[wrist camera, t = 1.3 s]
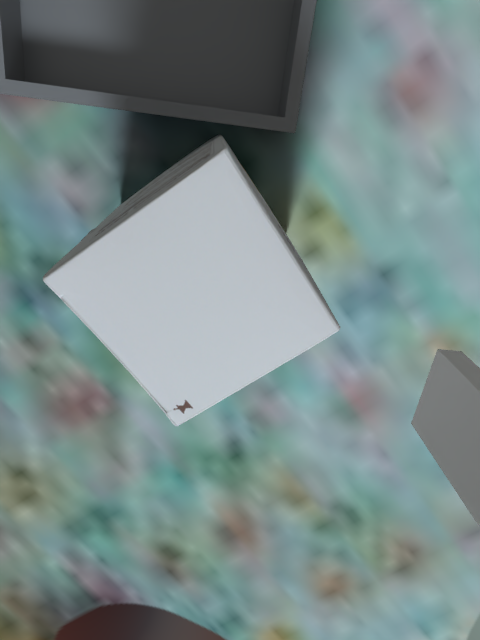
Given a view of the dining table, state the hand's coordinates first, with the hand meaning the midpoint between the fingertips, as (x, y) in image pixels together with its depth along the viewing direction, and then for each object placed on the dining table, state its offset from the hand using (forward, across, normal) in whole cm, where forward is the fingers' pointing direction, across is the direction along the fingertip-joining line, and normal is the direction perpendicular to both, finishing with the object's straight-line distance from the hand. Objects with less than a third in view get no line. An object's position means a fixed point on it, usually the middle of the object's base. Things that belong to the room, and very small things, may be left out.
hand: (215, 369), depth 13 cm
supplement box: (+23, 0, -1) cm, 23 cm away
